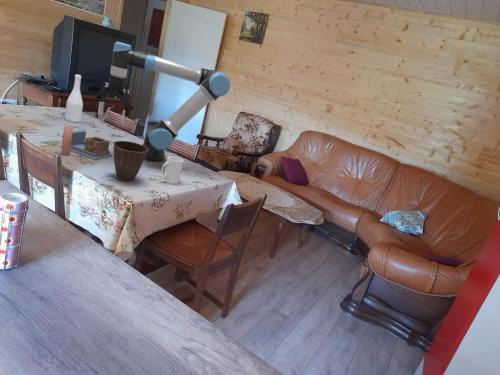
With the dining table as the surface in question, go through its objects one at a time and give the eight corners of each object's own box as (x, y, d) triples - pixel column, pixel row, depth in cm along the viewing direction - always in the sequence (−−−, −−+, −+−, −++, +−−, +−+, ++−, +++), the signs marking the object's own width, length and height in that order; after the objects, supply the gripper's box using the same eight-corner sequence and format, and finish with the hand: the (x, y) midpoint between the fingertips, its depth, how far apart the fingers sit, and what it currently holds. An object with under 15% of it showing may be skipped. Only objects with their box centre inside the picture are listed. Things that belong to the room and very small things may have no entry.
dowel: (71, 154, 172) (74, 127, 168) (65, 156, 169) (69, 128, 165) (65, 152, 173) (68, 125, 169) (59, 153, 170) (62, 125, 165)
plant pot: (147, 183, 165) (154, 152, 160) (118, 185, 154) (124, 151, 149) (131, 171, 174) (137, 141, 169) (102, 172, 162) (107, 140, 157)
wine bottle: (66, 117, 233) (71, 72, 224) (81, 120, 236) (87, 76, 227) (63, 120, 225) (68, 73, 215) (79, 123, 228) (85, 77, 219)
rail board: (112, 156, 187) (114, 141, 185) (94, 160, 174) (96, 145, 172) (81, 144, 191) (83, 130, 189) (61, 147, 178) (63, 132, 175)
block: (107, 154, 184) (109, 141, 182) (97, 156, 177) (99, 143, 175) (94, 149, 186) (96, 136, 184) (84, 151, 178) (85, 138, 176)
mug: (163, 185, 169) (168, 162, 165) (153, 178, 174) (158, 155, 170) (182, 183, 178) (187, 161, 175) (172, 177, 183) (177, 155, 179)
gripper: (144, 83, 171) (137, 125, 177) (101, 69, 174) (95, 110, 181) (136, 82, 163) (129, 126, 170) (91, 68, 167) (85, 111, 174)
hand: (111, 118), depth 176 cm, fingers open, 13 cm apart
